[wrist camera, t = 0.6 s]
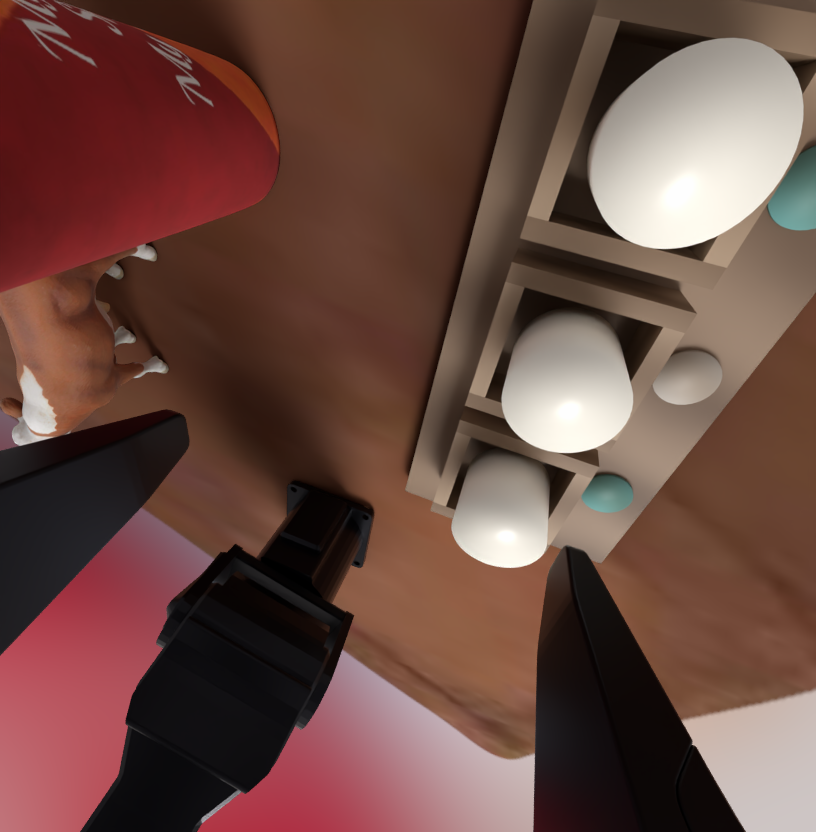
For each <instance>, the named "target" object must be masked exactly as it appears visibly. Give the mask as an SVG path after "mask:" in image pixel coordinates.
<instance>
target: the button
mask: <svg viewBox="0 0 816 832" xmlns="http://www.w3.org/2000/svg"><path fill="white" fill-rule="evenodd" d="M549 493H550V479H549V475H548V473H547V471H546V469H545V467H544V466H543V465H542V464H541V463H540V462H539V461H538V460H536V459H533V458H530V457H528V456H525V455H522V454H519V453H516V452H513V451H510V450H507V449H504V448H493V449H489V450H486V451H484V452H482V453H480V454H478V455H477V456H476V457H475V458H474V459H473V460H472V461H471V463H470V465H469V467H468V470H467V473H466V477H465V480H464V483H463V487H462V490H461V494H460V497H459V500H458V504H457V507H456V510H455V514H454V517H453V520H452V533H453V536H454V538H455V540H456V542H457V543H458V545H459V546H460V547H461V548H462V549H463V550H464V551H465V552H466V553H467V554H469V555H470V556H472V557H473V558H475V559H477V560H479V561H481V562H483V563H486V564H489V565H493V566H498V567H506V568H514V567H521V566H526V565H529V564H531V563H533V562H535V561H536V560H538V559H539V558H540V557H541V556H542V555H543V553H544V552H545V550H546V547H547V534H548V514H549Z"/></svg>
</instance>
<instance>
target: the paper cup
mask: <svg viewBox="0 0 816 832" xmlns="http://www.w3.org/2000/svg"><path fill="white" fill-rule="evenodd" d="M279 164H280V142H279V135H278V130H277V126H276V122H275V119H274V116H273V114H272V111H271V109H270V107H269V104H268V103H267V101H266V99H265V97H264V95H263V94H262V92H261V91H260V89H259V88H258V87H257V85H256V84H255V83H254V82H253V80H252V79H251V78H250V77H249V76H248V75H247V74H246V73H244V72H243V71H242V70H241V69H239V68H238V67H236V66H235V65H233V64H231V63H230V62H228V61H226V60H223V59H221V58H219V57H217V56H214V55H211V54H209V53H206V52H204V51H201V50H198V49H196V48H193V47H190V46H187V45H185V44H182V43H179V42H176V41H173V40H170V39H168V38H165V37H162V36H159V35H156V34H153V33H150V32H148V31H145V30H142V29H139V28H136V27H133V26H130V25H127V24H124V23H121V22H118V21H116V20H113V19H110V18H107V17H104V16H101V15H98V14H95V13H92V12H89V11H86V10H84V9H81V8H78V7H75V6H72V5H69V4H66V3H63V2H60V1H57V0H0V293H1V292H4V291H7V290H10V289H13V288H16V287H19V286H22V285H25V284H27V283H30V282H33V281H36V280H39V279H42V278H45V277H48V276H51V275H54V274H57V273H60V272H63V271H66V270H69V269H72V268H75V267H78V266H81V265H84V264H87V263H90V262H93V261H96V260H98V259H101V258H104V257H107V256H110V255H113V254H116V253H119V252H122V251H125V250H128V249H131V248H134V247H137V246H140V245H143V244H146V243H149V242H152V241H155V240H158V239H161V238H164V237H166V236H169V235H172V234H175V233H178V232H181V231H184V230H187V229H190V228H193V227H196V226H199V225H201V224H204V223H207V222H210V221H213V220H216V219H219V218H221V217H224V216H227V215H230V214H232V213H235V212H238V211H240V210H243V209H245V208H248V207H250V206H252V205H254V204H256V203H258V202H259V201H260V200H262V199H263V198H264V197H265V196H266V195H267V194H268V193H269V191H270V190H271V188H272V187H273V185H274V183H275V180H276V177H277V174H278V170H279Z"/></svg>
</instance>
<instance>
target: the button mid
mask: <svg viewBox="0 0 816 832" xmlns="http://www.w3.org/2000/svg"><path fill="white" fill-rule="evenodd" d="M632 407H633V392H632V387H631V383H630V379H629V375H628V371H627V367H626V363H625V360H624V356H623V352H622V348H621V344H620V341H619V338H618V335H617V333H616V332H615V330H614V329H613V327H612V326H611V325H610V324H609V323H608V322H607V321H606V320H605V319H604V318H602V317H601V316H599V315H597V314H595V313H593V312H591V311H588V310H584V309H580V308H560V309H555V310H551V311H548V312H546V313H543V314H541V315H539V316H538V317H536V318H535V319H533V320H532V321H530V322H529V323H528V324H527V325H526V326H525V327H524V328H523V330H522V331H521V332H520V334H519V335H518V337H517V339H516V342H515V345H514V348H513V352H512V356H511V360H510V364H509V368H508V372H507V376H506V380H505V384H504V388H503V392H502V409H503V413H504V416H505V418H506V420H507V422H508V424H509V426H510V427H511V428H512V430H513V431H514V432H515V433H516V434H517V435H518V436H519V437H520V438H522V439H523V440H524V441H526V442H527V443H529V444H531V445H533V446H535V447H538V448H540V449H543V450H547V451H551V452H557V453H576V452H582V451H587V450H590V449H593V448H596V447H598V446H600V445H603V444H604V443H606V442H608V441H609V440H611V439H612V438H613V437H614V436H616V435H617V434H618V433H619V432H620V431H621V430H622V428H623V427H624V426H625V424H626V423H627V421H628V419H629V417H630V414H631V411H632Z"/></svg>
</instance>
